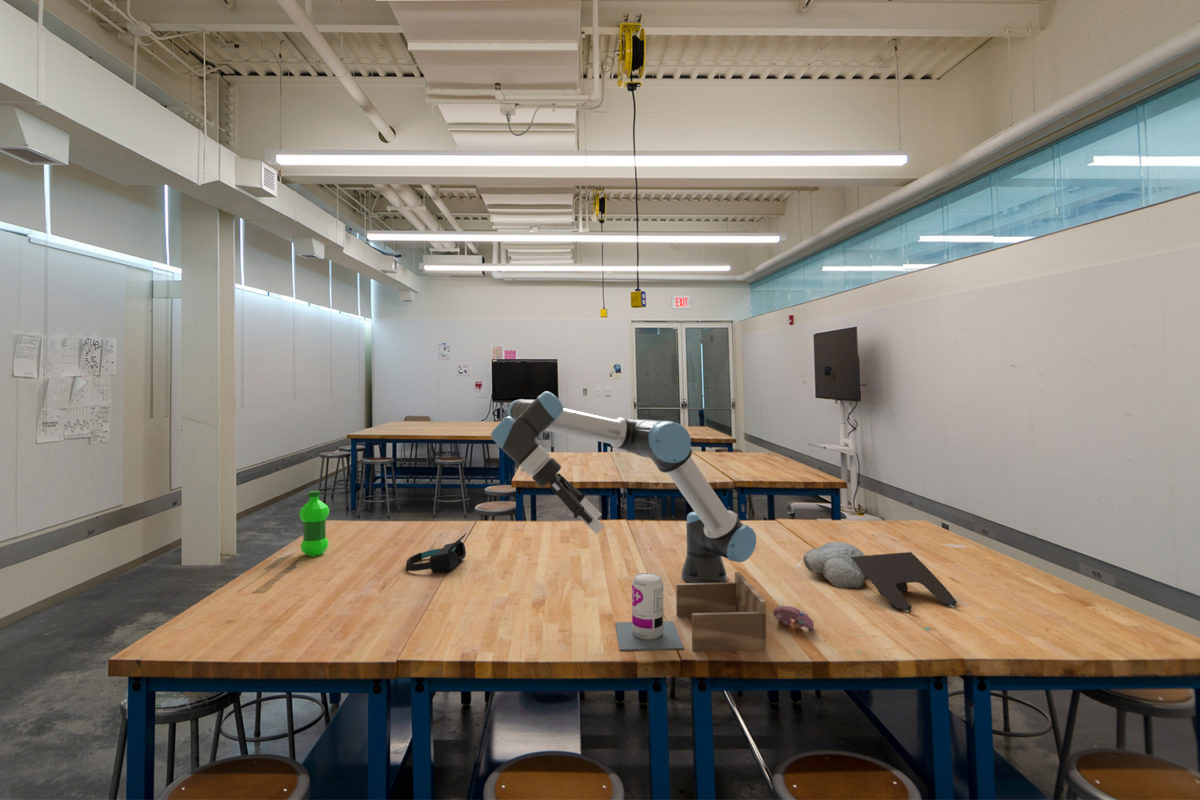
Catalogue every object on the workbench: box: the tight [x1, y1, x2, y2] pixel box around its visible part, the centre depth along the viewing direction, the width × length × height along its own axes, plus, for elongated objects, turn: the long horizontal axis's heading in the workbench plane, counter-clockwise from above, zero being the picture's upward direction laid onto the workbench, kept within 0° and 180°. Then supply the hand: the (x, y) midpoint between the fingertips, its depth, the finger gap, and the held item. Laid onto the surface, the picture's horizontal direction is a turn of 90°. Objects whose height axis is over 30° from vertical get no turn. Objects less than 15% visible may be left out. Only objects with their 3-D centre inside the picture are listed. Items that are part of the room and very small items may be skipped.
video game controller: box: [773, 604, 815, 630], centre depth 150 cm, size 10×5×7 cm, turn 47°
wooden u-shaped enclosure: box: [675, 571, 767, 652], centre depth 148 cm, size 22×18×12 cm
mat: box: [614, 620, 685, 652], centre depth 145 cm, size 16×16×1 cm
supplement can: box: [631, 572, 664, 640], centre depth 145 cm, size 8×8×15 cm
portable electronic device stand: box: [851, 551, 958, 613], centre depth 172 cm, size 23×23×9 cm
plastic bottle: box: [298, 490, 330, 557], centre depth 218 cm, size 10×10×25 cm
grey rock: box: [803, 541, 868, 589], centre depth 194 cm, size 28×21×9 cm
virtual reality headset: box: [405, 533, 467, 573], centre depth 204 cm, size 19×22×10 cm
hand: (599, 523), depth 144 cm, fingers open, 13 cm apart
